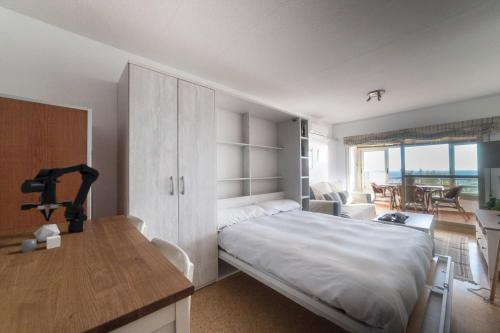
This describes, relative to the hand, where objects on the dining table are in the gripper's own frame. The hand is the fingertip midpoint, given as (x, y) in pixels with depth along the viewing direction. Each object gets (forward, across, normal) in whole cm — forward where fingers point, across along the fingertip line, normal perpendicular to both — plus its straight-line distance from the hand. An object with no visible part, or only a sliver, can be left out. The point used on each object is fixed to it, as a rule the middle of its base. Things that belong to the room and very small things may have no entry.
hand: (47, 221), depth 105 cm
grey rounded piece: (+10, +4, +14) cm, 18 cm away
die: (+10, 0, 0) cm, 10 cm away
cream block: (+10, -4, +14) cm, 18 cm away
